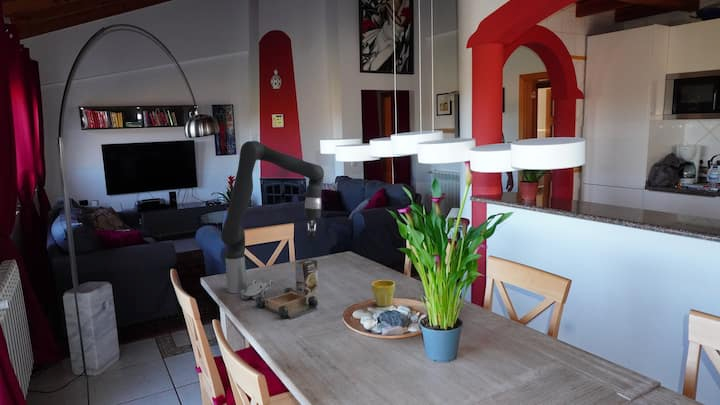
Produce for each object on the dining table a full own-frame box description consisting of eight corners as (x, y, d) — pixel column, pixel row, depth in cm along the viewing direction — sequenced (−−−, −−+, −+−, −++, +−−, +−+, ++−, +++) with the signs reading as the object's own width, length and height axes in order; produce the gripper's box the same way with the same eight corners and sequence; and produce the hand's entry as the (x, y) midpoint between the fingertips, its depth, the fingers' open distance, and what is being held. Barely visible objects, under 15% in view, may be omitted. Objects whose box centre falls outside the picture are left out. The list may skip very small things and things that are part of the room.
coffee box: (306, 298, 234) (304, 264, 232) (296, 295, 238) (294, 262, 236) (319, 292, 241) (317, 260, 239) (309, 290, 245) (307, 258, 243)
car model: (274, 285, 256) (273, 275, 256) (260, 302, 232) (259, 291, 232) (253, 285, 257) (252, 276, 257) (237, 302, 234) (236, 291, 233)
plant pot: (368, 306, 220) (367, 285, 219) (378, 299, 229) (377, 278, 228) (389, 310, 215) (389, 288, 214) (399, 302, 224) (398, 281, 223)
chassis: (254, 305, 227) (253, 295, 226) (285, 295, 238) (285, 285, 238) (287, 320, 208) (287, 308, 207) (320, 309, 220) (319, 298, 219)
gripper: (305, 206, 240) (303, 240, 241) (304, 207, 226) (302, 243, 226) (320, 207, 241) (318, 240, 241) (321, 208, 226) (319, 244, 227)
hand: (310, 242), depth 234 cm, fingers open, 8 cm apart
